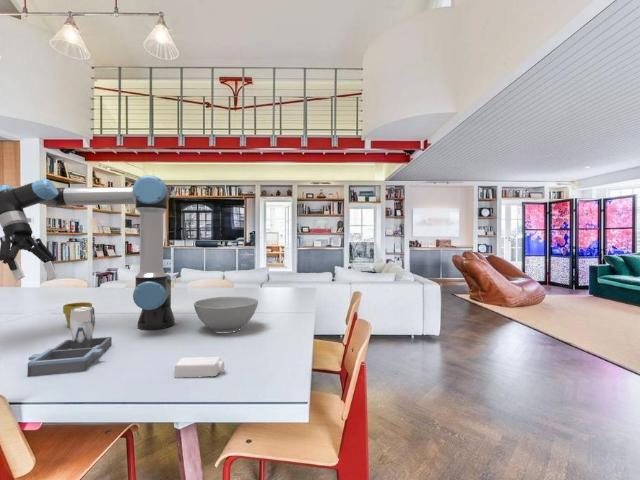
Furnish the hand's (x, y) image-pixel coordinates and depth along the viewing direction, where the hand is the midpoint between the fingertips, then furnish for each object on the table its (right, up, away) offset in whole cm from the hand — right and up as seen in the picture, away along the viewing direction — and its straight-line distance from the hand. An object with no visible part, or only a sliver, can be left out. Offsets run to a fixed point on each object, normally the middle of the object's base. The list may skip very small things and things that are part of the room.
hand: (37, 278), depth 117 cm
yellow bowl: (-7, -25, +28) cm, 38 cm away
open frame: (+21, -25, -11) cm, 35 cm away
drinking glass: (+20, -25, -5) cm, 32 cm away
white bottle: (+66, -26, -22) cm, 74 cm away
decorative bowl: (+60, -25, +26) cm, 70 cm away
